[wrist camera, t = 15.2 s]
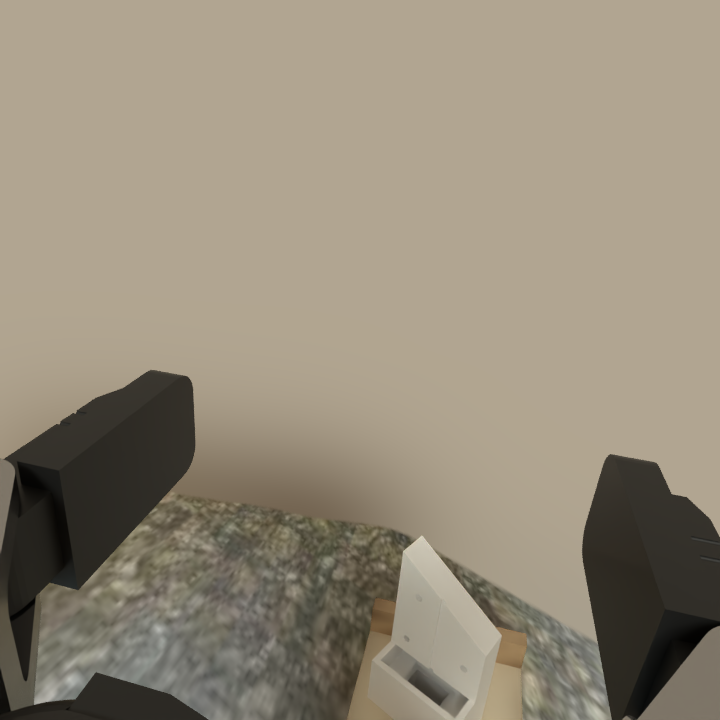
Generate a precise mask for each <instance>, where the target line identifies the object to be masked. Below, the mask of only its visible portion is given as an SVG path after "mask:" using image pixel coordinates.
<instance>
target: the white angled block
mask: <svg viewBox="0 0 720 720" xmlns="http://www.w3.org/2000/svg"><path fill="white" fill-rule="evenodd" d="M501 637H502V635H501V634H500V632H499V631H498V630H497V629H496V627H495V626H494V625H493V624H492V622H491V621H490V620H489V619H488V617H487V616H486V615H485V614H484V612H483V611H482V610H481V609H480V607H479V606H478V605H477V604H476V602H475V601H474V600H473V599H472V597H471V596H470V595H469V594H468V592H467V591H466V590H465V589H464V587H463V586H462V585H461V584H460V582H459V581H458V580H457V579H456V577H455V576H454V575H453V573H452V572H451V571H450V570H449V568H448V567H447V566H446V565H445V563H444V562H443V561H442V560H441V558H440V557H439V556H438V555H437V553H436V552H435V551H434V550H433V548H432V547H431V546H430V545H429V543H428V542H427V541H426V540H425V538H424V537H423V536H421V537H419V538H418V539H417V540H416V541H415V542H414V543H412V544H411V545H410V546H409V547H408V548H406V549H405V550H404V551H403V557H402V565H401V572H400V579H399V586H398V594H397V601H396V608H395V615H394V623H393V630H392V637H391V641H390V642H389V643H388V644H387V645H386V646H385V647H384V648H383V649H382V650H381V651H380V652H379V653H378V654H377V656H376V657H375V658H374V659H373V660H372V664H371V672H370V680H369V688H368V696H367V697H368V698H369V699H370V700H371V701H373V702H374V703H375V704H376V705H377V706H378V707H380V708H381V709H382V710H383V711H384V712H386V713H387V714H388V715H389V716H390V717H391V718H393V719H394V720H481V718H482V715H483V711H484V707H485V703H486V699H487V694H488V690H489V686H490V682H491V678H492V674H493V670H494V666H495V662H496V658H497V654H498V650H499V646H500V642H501Z"/></svg>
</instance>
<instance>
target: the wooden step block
mask: <svg viewBox="0 0 720 720" xmlns="http://www.w3.org/2000/svg"><path fill="white" fill-rule="evenodd" d="M395 608H396V602H393V601H389V600H384V599H380V598H376V599H375V602H374V606H373V611H372V619H371V628H370V633H369V637H368V641H367V644H366V648H365V652H364V656H363V660H362V663H361V667H360V671H359V675H358V678H357V682H356V686H355V690H354V693H353V697H352V701H351V705H350V708H349V712H348V716H347V720H394V719H393V718H391V717H390V716H389V715H388V714H387V713H386V712H384V711H383V710H382V709H381V708H380V707H378V706H377V705H376V704H375V703H374V702H373V701H371V700H370V699H369V698H368V697H367V696H368V688H369V680H370V672H371V664H372V660H373V659H374V658H375V657H376V656H377V654H378V653H379V652H380V651H381V650H382V649H383V648H384V647H385V646H386V645H387V644H388V643H389V642H390V641H391V637H392V630H393V623H394V615H395ZM496 629H497V630H498V631H499V632H500V634H501V635H502V637H501V642H500V646H499V650H498V654H497V658H496V662H495V666H494V670H493V674H492V678H491V682H490V686H489V690H488V694H487V699H486V703H485V707H484V711H483V715H482V718H481V720H522V690H521V666H522V663H523V659H524V655H525V652H526V648H527V639H526V634H524V633H520V632H516V631H512V630H508V629H504V628H500V627H496Z"/></svg>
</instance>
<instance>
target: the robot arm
mask: <svg viewBox="0 0 720 720" xmlns="http://www.w3.org/2000/svg"><path fill="white" fill-rule="evenodd" d="M194 452H195V424H194V402H193V387H192V382H191V380H190V379H189V378H188V377H187V376H183V375H177V374H171V373H166V372H161V371H155V370H150V371H148V372H146V373H145V374H143V375H142V376H140V377H139V378H137V379H136V380H134V381H133V382H131V383H130V384H129V385H127V386H126V387H124V388H123V389H120V390H117V391H114V392H111V393H109V394H106V395H103V396H100V397H97V398H95V399H94V400H92V401H91V402H89V403H88V404H86V405H85V406H83V407H82V408H80V409H79V410H77V413H76V414H74V413H73V414H71V415H70V416H68V417H66V418H65V419H63V420H62V421H61V423H60V425H58V424H56V425H54V426H53V427H51V428H50V429H48V430H47V431H45V432H44V433H42V434H41V435H39V436H38V437H36V438H35V439H33V440H32V441H31V442H29V443H27V444H26V445H25V446H23V447H21V448H20V449H18V450H17V451H15V452H14V453H12V454H11V455H9V456H8V457H6V458H5V459H0V720H208V719H207V718H205V717H204V716H202V715H201V714H199V713H198V712H196V711H195V710H193V709H192V708H190V707H189V706H187V705H186V704H184V703H183V702H181V701H180V700H178V699H177V698H175V697H174V696H172V695H171V694H167V693H164V692H161V691H157V690H154V689H150V688H147V687H144V686H140V685H137V684H134V683H130V682H127V681H123V680H120V679H117V678H113V677H110V676H106V675H103V674H100V673H95V674H94V676H93V677H92V678H91V680H90V681H89V682H88V684H87V685H86V686H85V688H84V689H83V690H82V692H81V693H80V694H79V696H78V697H77V698H76V700H62V701H52V702H45V703H41V704H36V705H34V693H35V681H36V669H37V657H38V645H39V632H40V620H41V599H40V594H39V593H40V592H41V591H42V590H43V589H44V588H45V587H46V586H47V585H48V584H49V583H54V584H57V585H61V586H65V587H69V588H72V589H76V590H79V589H80V588H81V586H82V585H83V584H84V583H85V582H86V581H87V580H88V579H89V578H90V577H91V576H92V575H93V573H94V572H95V571H96V570H97V569H98V568H99V567H100V566H101V565H102V564H103V563H104V561H105V560H106V559H107V558H108V557H109V556H110V555H111V554H112V553H113V552H114V551H115V550H116V548H117V547H118V546H119V545H120V544H121V543H122V542H123V541H124V540H125V539H126V538H127V536H128V535H129V534H130V533H131V532H132V531H133V530H134V529H135V528H136V527H137V526H138V525H139V523H140V522H141V521H142V520H143V519H144V518H145V517H146V516H147V515H148V514H149V513H150V511H151V510H152V509H153V508H154V507H155V506H156V505H157V504H158V503H159V502H160V501H161V500H162V498H163V497H164V496H165V495H166V494H167V493H168V492H169V491H170V490H171V488H173V486H174V485H175V484H176V483H177V482H178V481H179V480H180V479H181V478H182V477H183V475H184V474H185V473H186V472H187V470H188V469H189V467H190V465H191V462H192V459H193V456H194ZM582 547H583V548H582V555H583V563H584V569H585V575H586V580H587V586H588V591H589V597H590V602H591V608H592V613H593V619H594V624H595V629H596V635H597V641H598V646H599V651H600V657H601V662H602V668H603V673H604V679H605V684H606V690H607V695H608V701H609V706H610V712H611V717H612V720H720V537H719V535H718V533H717V531H716V529H715V527H714V526H713V524H712V522H711V520H710V519H709V518H708V517H707V516H706V515H705V514H704V513H703V512H702V511H701V510H700V509H698V507H696V506H695V505H694V504H693V503H692V502H691V501H690V500H689V499H688V498H687V497H682V496H678V495H672V494H671V492H670V490H669V488H668V485H667V483H666V481H665V479H664V477H663V475H662V472H661V470H660V468H659V466H658V464H657V463H655V462H650V461H644V460H639V459H634V458H628V457H622V456H617V455H611V454H610V455H609V456H608V457H607V458H606V460H605V462H604V465H603V468H602V471H601V474H600V478H599V481H598V484H597V488H596V491H595V494H594V498H593V501H592V505H591V508H590V512H589V515H588V518H587V521H586V525H585V530H584V536H583V546H582Z"/></svg>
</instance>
